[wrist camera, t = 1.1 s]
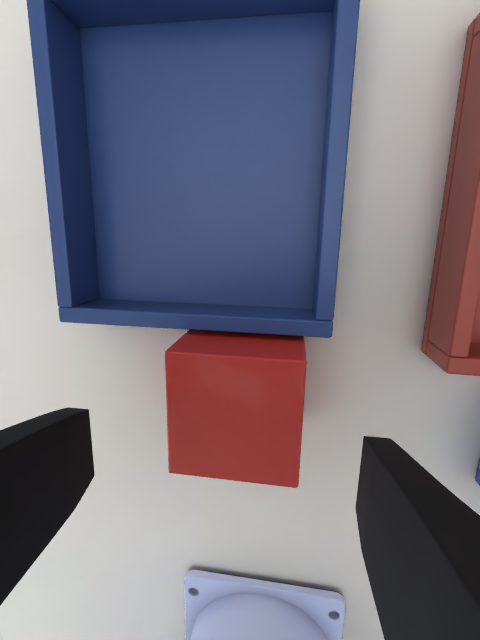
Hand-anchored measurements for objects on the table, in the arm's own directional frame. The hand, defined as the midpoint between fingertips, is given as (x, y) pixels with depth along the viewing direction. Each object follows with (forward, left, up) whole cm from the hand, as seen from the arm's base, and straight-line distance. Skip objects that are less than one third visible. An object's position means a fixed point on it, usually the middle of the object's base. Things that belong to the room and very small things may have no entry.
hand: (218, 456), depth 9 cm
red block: (0, 0, -7) cm, 7 cm away
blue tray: (+8, +2, -7) cm, 10 cm away
